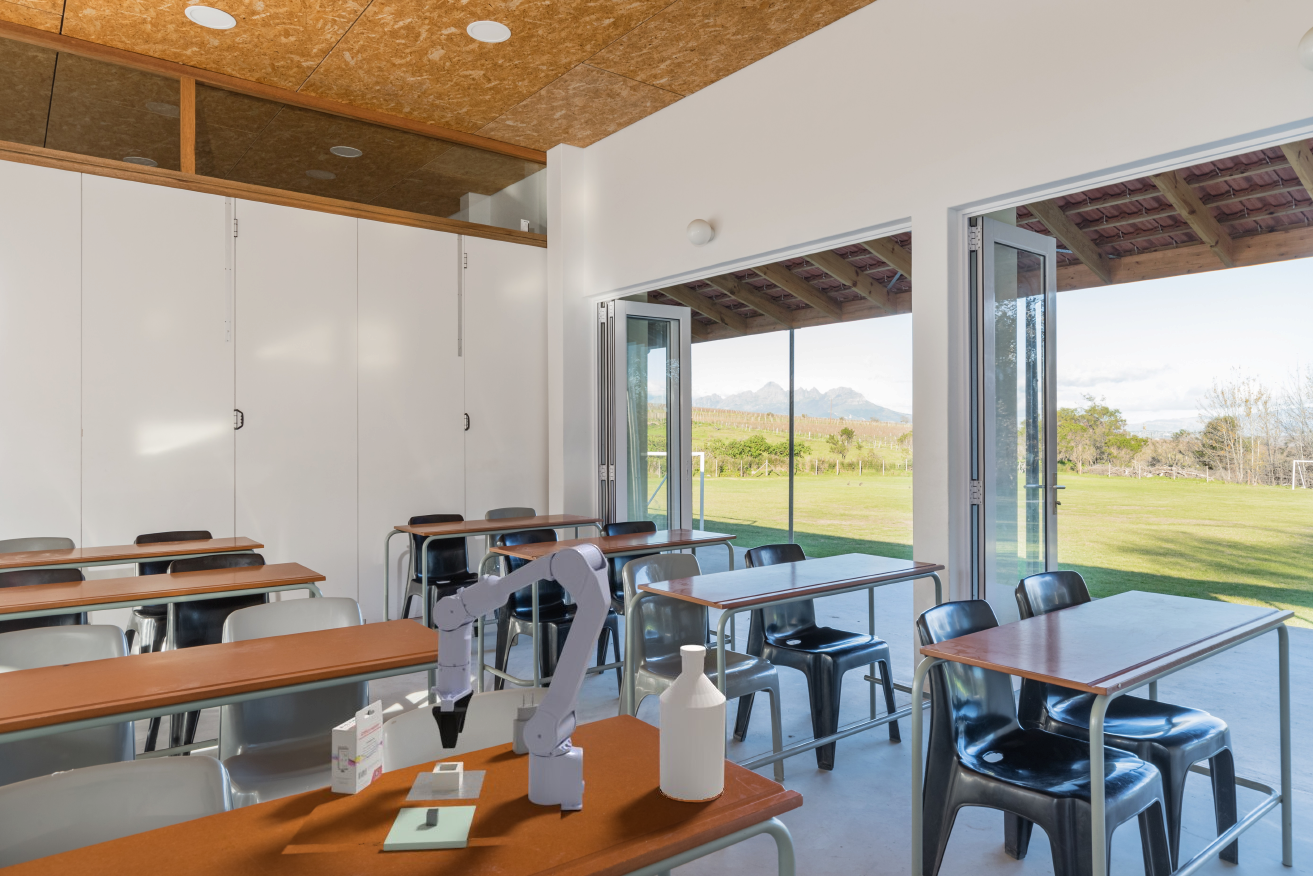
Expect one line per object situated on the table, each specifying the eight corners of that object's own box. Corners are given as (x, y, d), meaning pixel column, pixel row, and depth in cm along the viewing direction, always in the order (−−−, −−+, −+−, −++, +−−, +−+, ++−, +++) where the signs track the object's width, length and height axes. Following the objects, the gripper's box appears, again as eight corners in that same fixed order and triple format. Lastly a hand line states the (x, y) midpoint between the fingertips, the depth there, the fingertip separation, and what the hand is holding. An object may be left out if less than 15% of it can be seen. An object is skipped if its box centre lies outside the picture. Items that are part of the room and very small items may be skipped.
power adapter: (511, 754, 154) (512, 693, 155) (537, 750, 157) (538, 689, 157) (516, 759, 152) (517, 697, 152) (543, 755, 154) (544, 693, 155)
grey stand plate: (485, 775, 144) (486, 759, 144) (478, 804, 132) (478, 786, 132) (419, 777, 142) (419, 761, 142) (405, 806, 130) (405, 788, 130)
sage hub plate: (475, 811, 129) (476, 793, 129) (465, 847, 117) (466, 827, 117) (401, 814, 127) (401, 796, 127) (383, 850, 115) (383, 830, 116)
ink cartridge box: (357, 778, 142) (359, 696, 142) (382, 780, 141) (384, 698, 142) (329, 797, 134) (331, 711, 134) (355, 800, 133) (357, 713, 133)
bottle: (646, 783, 141) (647, 644, 142) (701, 771, 147) (702, 638, 148) (680, 809, 130) (682, 659, 131) (738, 795, 136) (739, 651, 137)
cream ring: (462, 779, 140) (463, 762, 140) (459, 789, 135) (459, 772, 135) (436, 779, 139) (436, 762, 139) (431, 790, 134) (432, 772, 135)
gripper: (438, 653, 146) (437, 726, 145) (423, 674, 131) (421, 755, 131) (477, 652, 146) (475, 725, 146) (465, 673, 132) (464, 754, 131)
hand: (452, 740), depth 138 cm, fingers open, 7 cm apart
